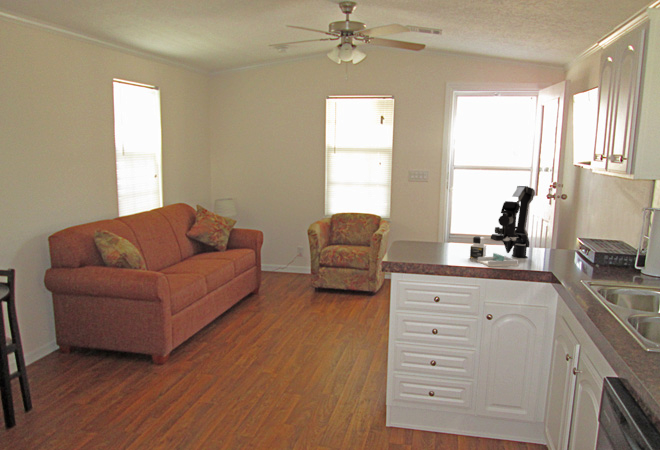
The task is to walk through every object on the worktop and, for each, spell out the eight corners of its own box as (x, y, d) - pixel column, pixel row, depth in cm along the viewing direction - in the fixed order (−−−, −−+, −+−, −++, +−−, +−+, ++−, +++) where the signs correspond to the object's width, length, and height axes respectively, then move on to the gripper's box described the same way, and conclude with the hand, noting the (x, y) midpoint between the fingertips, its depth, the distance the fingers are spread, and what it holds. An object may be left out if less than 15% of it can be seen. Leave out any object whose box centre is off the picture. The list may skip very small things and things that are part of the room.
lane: (504, 260, 278) (505, 255, 278) (517, 265, 267) (518, 260, 266) (477, 261, 274) (477, 256, 274) (489, 266, 262) (489, 261, 262)
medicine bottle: (469, 258, 281) (471, 237, 280) (472, 256, 288) (473, 235, 286) (482, 259, 278) (484, 238, 276) (485, 257, 284) (486, 236, 283)
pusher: (494, 259, 274) (495, 252, 274) (503, 262, 266) (504, 256, 266) (481, 259, 272) (481, 253, 272) (489, 263, 264) (490, 256, 264)
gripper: (516, 221, 279) (514, 249, 281) (486, 222, 274) (484, 250, 276) (528, 224, 268) (526, 253, 270) (497, 225, 263) (495, 254, 266)
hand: (507, 252), depth 271 cm, fingers closed
